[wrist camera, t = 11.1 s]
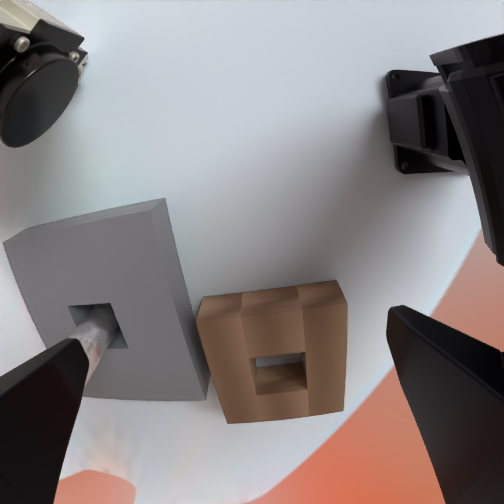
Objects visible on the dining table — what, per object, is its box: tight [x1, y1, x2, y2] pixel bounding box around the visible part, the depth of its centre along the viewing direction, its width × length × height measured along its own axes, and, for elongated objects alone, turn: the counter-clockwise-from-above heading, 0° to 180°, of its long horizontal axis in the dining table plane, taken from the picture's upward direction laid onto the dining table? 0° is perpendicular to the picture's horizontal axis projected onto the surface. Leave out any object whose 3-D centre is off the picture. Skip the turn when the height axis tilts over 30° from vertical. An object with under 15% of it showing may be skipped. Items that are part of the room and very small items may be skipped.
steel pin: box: [69, 303, 120, 388], centre depth 18 cm, size 2×2×8 cm
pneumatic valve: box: [0, 0, 88, 148], centre depth 10 cm, size 6×12×12 cm, turn 48°
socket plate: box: [3, 198, 210, 401], centre depth 20 cm, size 12×14×3 cm
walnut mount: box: [196, 280, 347, 424], centre depth 22 cm, size 9×10×3 cm
